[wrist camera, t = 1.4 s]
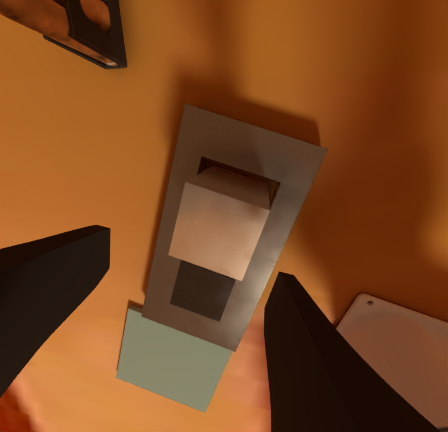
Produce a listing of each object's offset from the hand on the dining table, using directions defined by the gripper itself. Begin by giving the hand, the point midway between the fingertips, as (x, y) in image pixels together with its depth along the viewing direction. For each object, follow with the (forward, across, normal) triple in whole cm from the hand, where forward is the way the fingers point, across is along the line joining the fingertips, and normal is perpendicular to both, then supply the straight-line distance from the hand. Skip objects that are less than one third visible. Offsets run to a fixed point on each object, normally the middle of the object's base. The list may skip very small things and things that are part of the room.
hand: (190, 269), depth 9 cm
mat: (+10, +1, +21) cm, 23 cm away
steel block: (+10, -1, 0) cm, 10 cm away
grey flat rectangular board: (+10, -1, +4) cm, 11 cm away
